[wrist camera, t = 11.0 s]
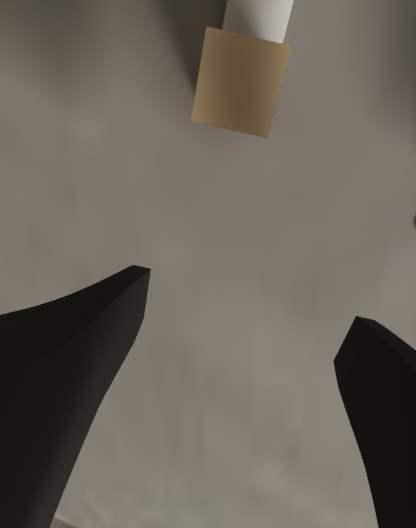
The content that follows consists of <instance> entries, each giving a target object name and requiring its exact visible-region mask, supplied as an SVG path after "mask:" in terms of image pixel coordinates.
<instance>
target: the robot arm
mask: <svg viewBox="0 0 416 528" xmlns="http://www.w3.org/2000/svg"><path fill="white" fill-rule="evenodd" d="M150 270H151V269H149V268H144V267H140V266H136V265H132V266H130V267H128V268H126V269H124V270H122V271H120V272H118V273H116V274H114V275H112V276H110V277H108V278H106V279H104V280H102V281H100V282H98V283H96V284H93V285H91V286H89V287H86V288H84V289H82V290H79V291H77V292H75V293H72V294H70V295H67V296H65V297H62V298H59V299H56V300H54V301H50V302H47V303H44V304H41V305H38V306H34V307H31V308H27V309H23V310H19V311H15V312H11V313H7V314H3V315H0V528H49V527H50V524H51V522H52V519H53V517H54V514H55V512H56V509H57V507H58V504H59V502H60V499H61V497H62V494H63V492H64V489H65V487H66V484H67V482H68V479H69V477H70V474H71V472H72V469H73V467H74V464H75V462H76V460H77V457H78V455H79V452H80V450H81V447H82V445H83V443H84V440H85V438H86V436H87V433H88V431H89V429H90V426H91V424H92V422H93V419H94V417H95V415H96V412H97V410H98V408H99V406H100V404H101V402H102V400H103V398H104V396H105V394H106V392H107V390H108V389H109V387H110V385H111V383H112V381H113V379H114V378H115V376H116V374H117V372H118V370H119V369H120V367H121V365H122V363H123V361H124V360H125V358H126V356H127V354H128V352H129V351H130V349H131V347H132V345H133V343H134V341H135V339H136V336H137V334H138V331H139V329H140V326H141V324H142V321H143V318H144V313H145V306H146V299H147V292H148V284H149V277H150ZM334 366H335V372H336V378H337V383H338V388H339V391H340V394H341V397H342V400H343V403H344V406H345V409H346V412H347V415H348V418H349V421H350V424H351V426H352V429H353V432H354V435H355V438H356V441H357V444H358V447H359V450H360V452H361V456H362V459H363V462H364V466H365V469H366V473H367V477H368V481H369V486H370V490H371V494H372V498H373V503H374V507H375V512H376V517H377V522H378V527H379V528H416V350H415V349H413V348H412V347H411V346H409V345H408V344H407V343H405V342H404V341H403V340H402V339H400V338H399V337H398V336H396V335H395V334H394V333H392V332H391V331H390V330H388V329H387V328H385V327H384V326H383V325H381V324H380V323H378V322H376V321H375V320H372V319H367V318H363V317H358V316H356V317H355V319H354V321H353V323H352V325H351V327H350V329H349V331H348V333H347V335H346V337H345V339H344V341H343V343H342V345H341V347H340V349H339V351H338V353H337V355H336V357H335V359H334Z"/></svg>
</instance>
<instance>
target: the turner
mask: <svg viewBox="0 0 416 528" xmlns="http://www.w3.org/2000/svg"><path fill="white" fill-rule="evenodd" d="M293 1H294V0H227V5H226V10H225V16H224V21H223V26H222V30H221V29H216V28H212V27H208V26H206V32H205V38H204V44H203V50H202V56H201V62H200V68H199V74H198V80H197V86H196V93H195V99H194V105H193V111H192V117H191V121H194V122H199V123H203V124H207V125H212V126H216V127H221V128H225V129H229V130H234V131H238V132H242V133H247V134H251V135H255V136H260V137H264V138H267V137H268V133H269V129H270V126H271V122H272V118H273V115H274V111H275V107H276V103H277V100H278V96H279V92H280V89H281V85H282V81H283V77H284V74H285V70H286V66H287V63H288V59H289V55H290V51H291V48H292V46H290V45H286V44H282V43H283V39H284V36H285V32H286V28H287V24H288V20H289V16H290V12H291V8H292V4H293Z"/></svg>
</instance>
